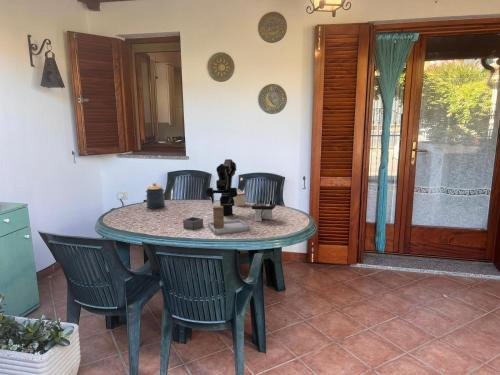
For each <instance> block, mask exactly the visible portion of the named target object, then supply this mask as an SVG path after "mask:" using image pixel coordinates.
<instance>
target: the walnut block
mask: <svg viewBox="0 0 500 375" xmlns="http://www.w3.org/2000/svg"><path fill="white" fill-rule="evenodd" d="M212 211H213V217H212V218H213V222H214V228H223V226H224V221H225V220H224V215H223V206H220V205H214V206H213V208H212Z"/></svg>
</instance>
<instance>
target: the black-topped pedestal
mask: <svg viewBox="0 0 500 375" xmlns="http://www.w3.org/2000/svg"><path fill="white" fill-rule="evenodd" d="M268 201H269V202H266V201H265V200H261V201H260V200H256V201H255V203H254V204H253V205H251V210H255V212H254V214H255V215H254V216H255V222H262V221H263V219H264V220H273V210H274V209H276V207H277V206H276V205H277V204H276V203H274V202H273V199H271V200H268Z"/></svg>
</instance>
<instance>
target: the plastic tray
mask: <svg viewBox="0 0 500 375" xmlns="http://www.w3.org/2000/svg"><path fill="white" fill-rule="evenodd" d="M207 228H209V230H210V231H211V232H212V233H213V234H214V235H217V236H218V235H225V234H234V233H241V232H249V231H250V226H249V225H248V224H246V223H245V222H244V221H243V220H241V219H240V218H239V219H229V220H224V226H223V228H214V221H210V222H207Z"/></svg>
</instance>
